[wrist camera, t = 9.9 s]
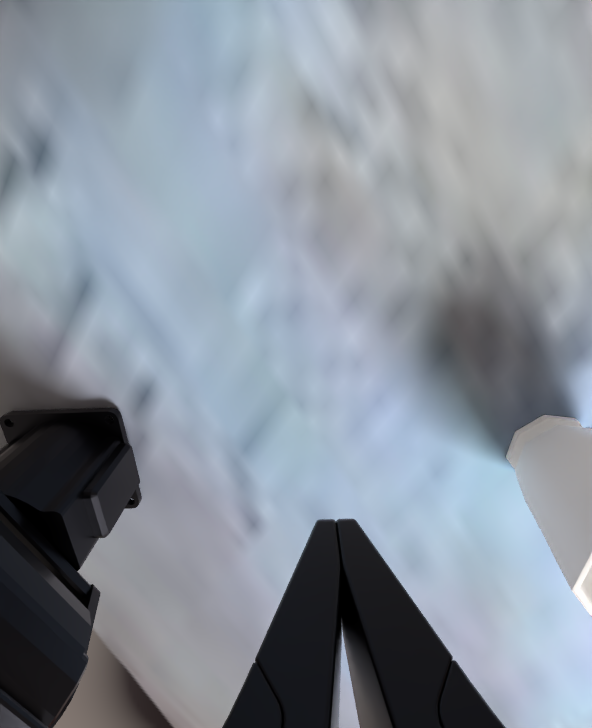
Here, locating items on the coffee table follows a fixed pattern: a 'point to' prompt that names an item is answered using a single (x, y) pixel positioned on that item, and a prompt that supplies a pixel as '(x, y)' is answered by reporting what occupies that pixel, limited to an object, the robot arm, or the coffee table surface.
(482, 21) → the coffee table surface
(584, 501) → the cup
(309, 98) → the coffee table surface
